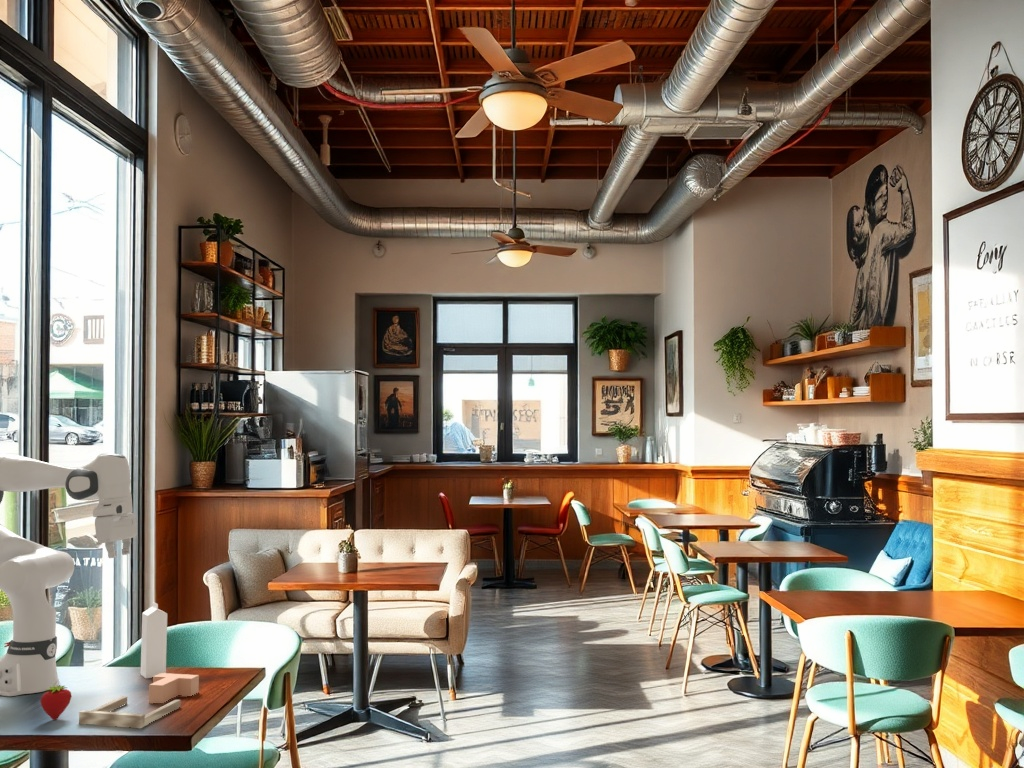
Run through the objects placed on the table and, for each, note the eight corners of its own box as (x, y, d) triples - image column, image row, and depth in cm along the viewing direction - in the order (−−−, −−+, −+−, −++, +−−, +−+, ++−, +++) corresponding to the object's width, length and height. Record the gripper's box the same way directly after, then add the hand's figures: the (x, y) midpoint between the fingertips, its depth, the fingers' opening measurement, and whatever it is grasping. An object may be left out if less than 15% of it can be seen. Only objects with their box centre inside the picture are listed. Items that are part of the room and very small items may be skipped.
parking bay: (78, 724, 227) (79, 711, 228) (122, 703, 245) (122, 692, 245) (140, 728, 224) (141, 716, 224) (180, 707, 242) (180, 696, 242)
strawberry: (75, 717, 232) (77, 678, 233) (47, 725, 226) (48, 685, 227) (63, 714, 236) (64, 675, 236) (34, 721, 229) (36, 681, 230)
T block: (135, 702, 247) (136, 683, 247) (160, 690, 258) (161, 672, 259) (175, 704, 244) (175, 686, 245) (198, 692, 256) (198, 675, 256)
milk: (145, 678, 271) (147, 605, 272) (140, 674, 276) (141, 602, 277) (166, 675, 275) (167, 603, 276) (160, 671, 280) (162, 600, 281)
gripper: (119, 507, 270) (123, 553, 269) (89, 511, 250) (93, 561, 249) (140, 505, 270) (144, 551, 269) (112, 508, 250) (115, 558, 249)
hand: (119, 556), depth 259 cm, fingers open, 8 cm apart
